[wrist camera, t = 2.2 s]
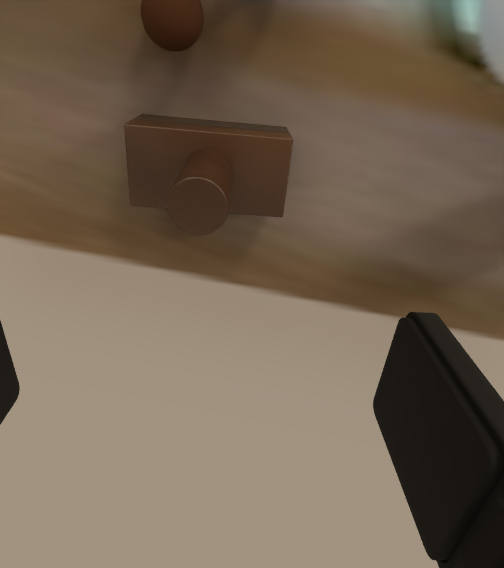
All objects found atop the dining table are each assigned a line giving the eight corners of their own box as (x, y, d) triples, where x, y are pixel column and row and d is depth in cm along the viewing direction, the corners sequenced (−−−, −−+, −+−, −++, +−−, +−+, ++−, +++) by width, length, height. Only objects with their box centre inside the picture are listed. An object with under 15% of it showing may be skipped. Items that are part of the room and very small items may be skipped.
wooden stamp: (141, 114, 21) (85, 145, 14) (286, 127, 22) (307, 164, 14) (145, 186, 23) (98, 247, 16) (278, 196, 24) (292, 260, 16)
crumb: (146, -21, 18) (131, -32, 16) (206, -15, 18) (200, -25, 16) (149, 48, 20) (136, 48, 17) (205, 54, 20) (199, 54, 17)
